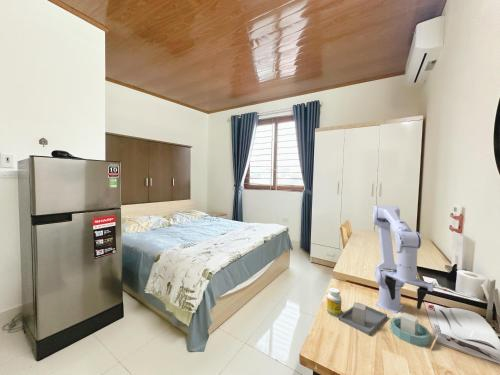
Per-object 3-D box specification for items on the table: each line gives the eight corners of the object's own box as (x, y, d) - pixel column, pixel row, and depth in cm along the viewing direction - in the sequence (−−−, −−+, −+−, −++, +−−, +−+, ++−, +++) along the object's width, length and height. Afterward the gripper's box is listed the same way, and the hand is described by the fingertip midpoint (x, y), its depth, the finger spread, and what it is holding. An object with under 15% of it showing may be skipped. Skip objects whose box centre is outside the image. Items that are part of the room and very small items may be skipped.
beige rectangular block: (403, 328, 77) (404, 312, 77) (417, 334, 74) (418, 317, 74) (400, 333, 74) (400, 316, 74) (414, 340, 71) (415, 322, 71)
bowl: (396, 321, 82) (396, 314, 82) (432, 337, 74) (432, 328, 74) (386, 333, 75) (386, 325, 75) (425, 351, 67) (425, 342, 67)
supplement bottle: (332, 308, 90) (332, 285, 90) (343, 315, 85) (344, 291, 85) (324, 312, 87) (324, 288, 87) (335, 319, 82) (336, 294, 82)
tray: (358, 305, 92) (358, 302, 92) (386, 318, 84) (386, 314, 84) (338, 320, 82) (338, 316, 82) (369, 336, 73) (369, 332, 73)
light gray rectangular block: (354, 317, 83) (354, 302, 83) (365, 321, 81) (366, 305, 81) (352, 322, 80) (352, 306, 80) (364, 326, 78) (364, 310, 78)
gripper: (379, 261, 79) (378, 298, 79) (430, 274, 68) (429, 317, 68) (386, 257, 83) (385, 292, 83) (435, 269, 72) (433, 309, 72)
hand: (405, 303), depth 76 cm, fingers open, 7 cm apart
